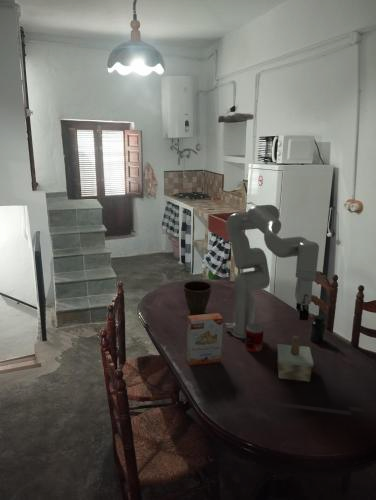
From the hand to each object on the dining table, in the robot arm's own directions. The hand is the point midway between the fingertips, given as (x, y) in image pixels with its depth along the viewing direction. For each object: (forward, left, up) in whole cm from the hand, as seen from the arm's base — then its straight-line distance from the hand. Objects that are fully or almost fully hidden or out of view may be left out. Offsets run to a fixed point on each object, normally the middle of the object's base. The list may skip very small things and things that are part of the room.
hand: (301, 314), depth 152 cm
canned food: (-17, +15, -26) cm, 34 cm away
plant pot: (-48, +48, -26) cm, 73 cm away
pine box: (-1, -1, -26) cm, 26 cm away
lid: (-1, -1, -18) cm, 18 cm away
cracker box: (-38, +1, -26) cm, 46 cm away
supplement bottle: (+13, +30, -26) cm, 41 cm away
